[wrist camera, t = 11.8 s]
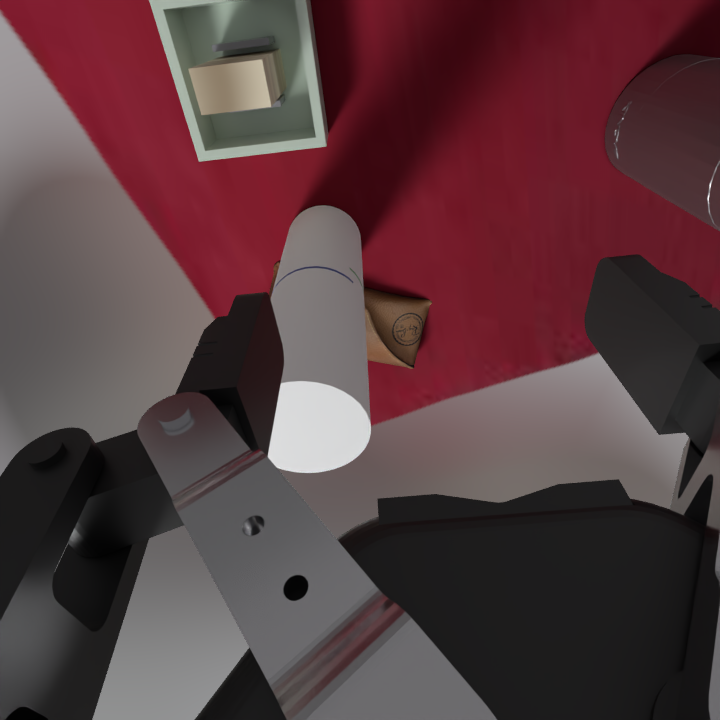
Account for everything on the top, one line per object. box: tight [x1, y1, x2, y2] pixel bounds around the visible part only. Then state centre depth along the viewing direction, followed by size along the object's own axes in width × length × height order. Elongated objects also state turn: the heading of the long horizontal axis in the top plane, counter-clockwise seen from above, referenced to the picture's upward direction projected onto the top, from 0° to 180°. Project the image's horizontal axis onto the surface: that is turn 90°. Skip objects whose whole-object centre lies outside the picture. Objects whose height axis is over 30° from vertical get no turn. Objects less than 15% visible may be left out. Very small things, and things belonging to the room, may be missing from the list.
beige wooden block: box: [188, 49, 287, 115], centre depth 31 cm, size 4×2×9 cm, turn 96°
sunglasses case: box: [269, 262, 432, 369], centre depth 48 cm, size 18×7×7 cm, turn 75°
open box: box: [149, 0, 328, 162], centre depth 33 cm, size 10×10×4 cm
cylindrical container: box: [268, 205, 371, 473], centre depth 34 cm, size 7×7×25 cm
